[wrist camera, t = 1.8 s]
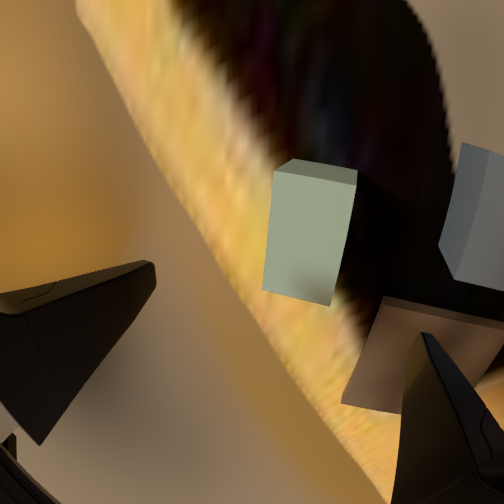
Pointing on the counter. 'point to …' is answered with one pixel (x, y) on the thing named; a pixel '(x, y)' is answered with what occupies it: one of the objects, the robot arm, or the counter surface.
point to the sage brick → (308, 229)
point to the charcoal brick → (476, 219)
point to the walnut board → (401, 340)
